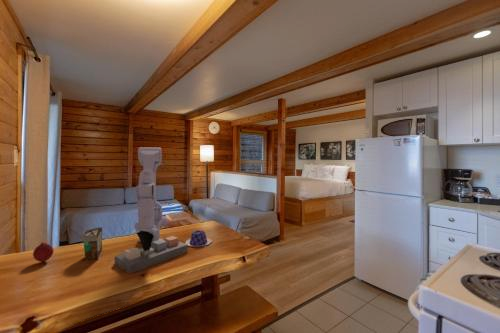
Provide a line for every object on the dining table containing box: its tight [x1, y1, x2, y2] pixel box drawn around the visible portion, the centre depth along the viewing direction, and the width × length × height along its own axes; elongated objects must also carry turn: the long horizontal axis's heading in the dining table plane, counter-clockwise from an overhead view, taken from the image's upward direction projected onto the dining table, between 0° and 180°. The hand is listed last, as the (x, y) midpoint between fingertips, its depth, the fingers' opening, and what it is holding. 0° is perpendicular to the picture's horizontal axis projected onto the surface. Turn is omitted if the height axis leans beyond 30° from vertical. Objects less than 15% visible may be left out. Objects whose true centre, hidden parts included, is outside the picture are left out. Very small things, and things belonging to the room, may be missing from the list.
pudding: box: [184, 230, 212, 248], centre depth 112 cm, size 12×12×5 cm
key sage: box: [140, 248, 154, 255], centre depth 94 cm, size 4×4×3 cm
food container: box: [80, 226, 103, 261], centre depth 96 cm, size 12×6×10 cm, turn 23°
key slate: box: [152, 238, 167, 251], centre depth 98 cm, size 4×4×3 cm
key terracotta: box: [163, 235, 179, 247], centre depth 102 cm, size 4×4×3 cm
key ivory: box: [123, 247, 141, 261], centre depth 89 cm, size 4×4×3 cm
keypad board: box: [114, 240, 189, 274], centre depth 96 cm, size 12×24×3 cm, turn 142°
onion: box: [32, 240, 55, 263], centre depth 91 cm, size 6×6×8 cm
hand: (146, 249), depth 93 cm, fingers closed, pressing on key sage
